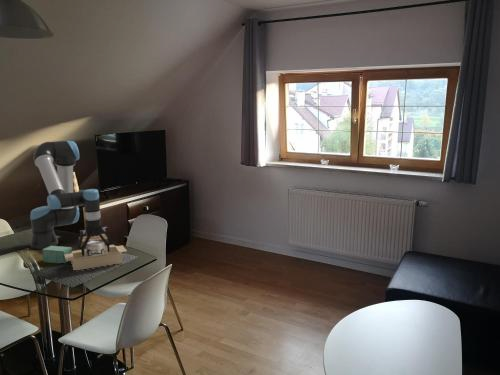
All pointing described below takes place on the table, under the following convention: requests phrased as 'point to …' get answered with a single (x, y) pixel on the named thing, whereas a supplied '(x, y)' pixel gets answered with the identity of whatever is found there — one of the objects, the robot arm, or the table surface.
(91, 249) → the ink box
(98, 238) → the stand
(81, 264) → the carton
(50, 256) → the box
